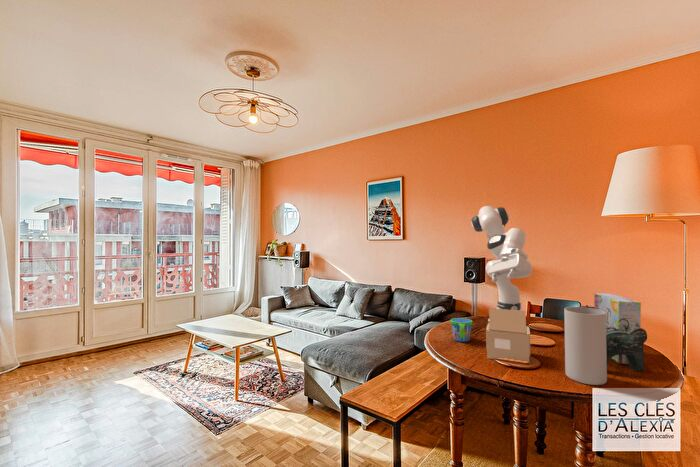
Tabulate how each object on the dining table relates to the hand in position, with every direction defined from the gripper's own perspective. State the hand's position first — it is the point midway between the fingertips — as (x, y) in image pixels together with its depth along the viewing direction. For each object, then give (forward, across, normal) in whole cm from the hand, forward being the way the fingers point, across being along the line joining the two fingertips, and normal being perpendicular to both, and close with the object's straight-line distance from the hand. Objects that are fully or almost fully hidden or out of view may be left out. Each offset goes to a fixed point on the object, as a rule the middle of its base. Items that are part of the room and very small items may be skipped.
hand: (501, 280), depth 155 cm
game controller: (+19, +25, +43) cm, 54 cm away
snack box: (+7, +15, +54) cm, 56 cm away
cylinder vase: (+30, +26, +28) cm, 48 cm away
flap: (+19, +7, +4) cm, 21 cm away
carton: (+29, -2, +16) cm, 33 cm away
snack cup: (+26, -26, +8) cm, 38 cm away
